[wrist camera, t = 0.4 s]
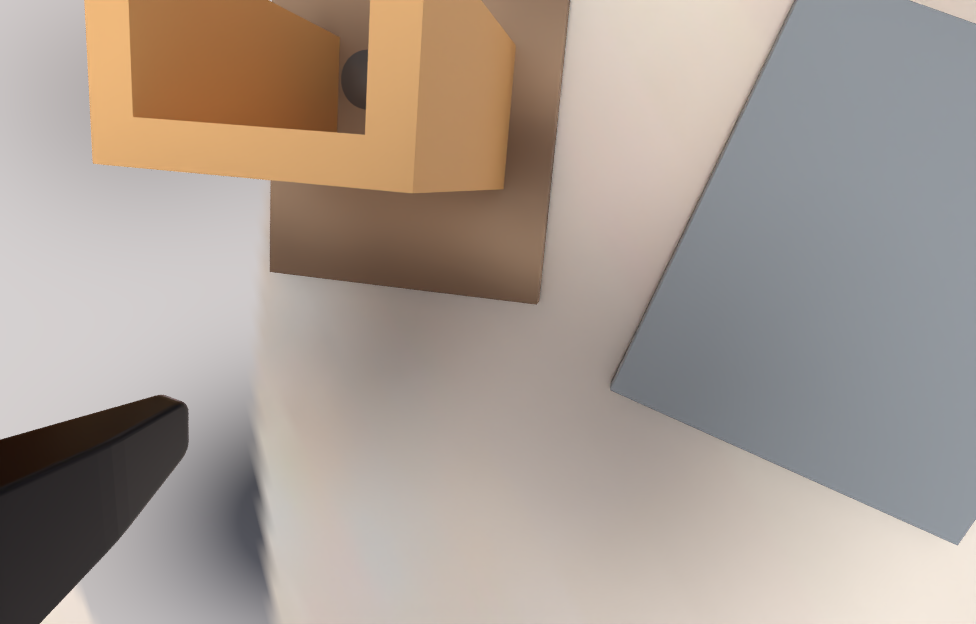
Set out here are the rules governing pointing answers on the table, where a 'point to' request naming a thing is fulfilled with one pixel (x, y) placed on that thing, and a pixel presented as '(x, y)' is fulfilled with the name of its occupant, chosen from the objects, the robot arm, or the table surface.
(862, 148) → the rubber mat
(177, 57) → the c link
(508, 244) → the stand
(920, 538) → the table surface
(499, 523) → the table surface
